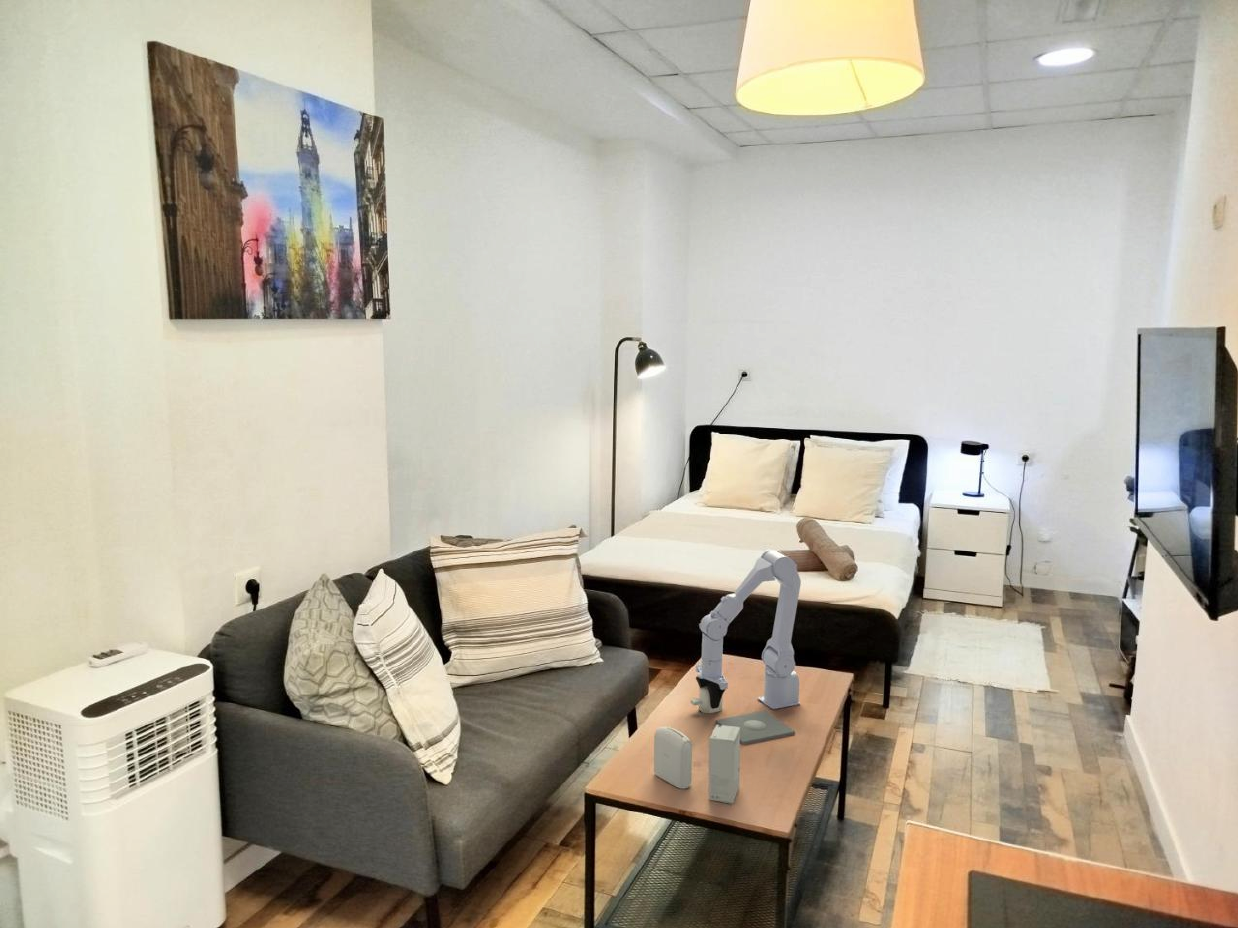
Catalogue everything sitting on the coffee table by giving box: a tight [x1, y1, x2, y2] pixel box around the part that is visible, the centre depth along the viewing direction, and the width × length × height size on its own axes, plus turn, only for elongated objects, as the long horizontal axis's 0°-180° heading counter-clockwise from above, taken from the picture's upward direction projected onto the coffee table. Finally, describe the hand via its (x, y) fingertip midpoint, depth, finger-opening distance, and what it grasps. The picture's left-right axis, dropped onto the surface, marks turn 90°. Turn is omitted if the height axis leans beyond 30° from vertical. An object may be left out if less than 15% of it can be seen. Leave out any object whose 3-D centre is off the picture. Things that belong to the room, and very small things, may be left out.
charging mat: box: [715, 709, 796, 745], centre depth 231 cm, size 16×14×1 cm
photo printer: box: [653, 725, 693, 790], centre depth 202 cm, size 10×4×12 cm, turn 39°
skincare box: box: [708, 724, 741, 805], centre depth 196 cm, size 8×6×15 cm
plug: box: [690, 687, 724, 714], centre depth 241 cm, size 9×4×6 cm, turn 114°
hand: (710, 704), depth 242 cm, fingers closed on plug, 4 cm apart
